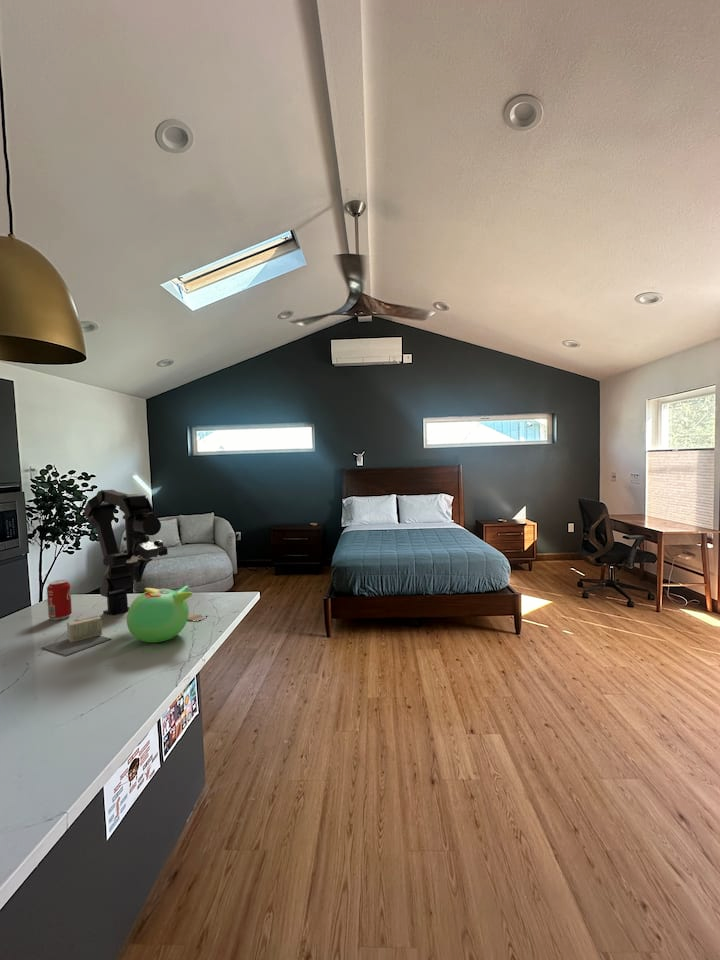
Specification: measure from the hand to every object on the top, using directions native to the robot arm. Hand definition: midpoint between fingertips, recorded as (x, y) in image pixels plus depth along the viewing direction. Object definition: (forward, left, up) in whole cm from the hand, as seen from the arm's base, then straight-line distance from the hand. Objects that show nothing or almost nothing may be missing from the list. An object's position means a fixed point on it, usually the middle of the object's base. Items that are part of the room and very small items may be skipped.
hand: (138, 582), depth 141 cm
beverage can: (-27, -10, -12) cm, 31 cm away
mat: (+2, -20, -12) cm, 24 cm away
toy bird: (+21, -8, -12) cm, 26 cm away
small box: (+1, -13, -9) cm, 16 cm away
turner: (+12, +7, -12) cm, 18 cm away
